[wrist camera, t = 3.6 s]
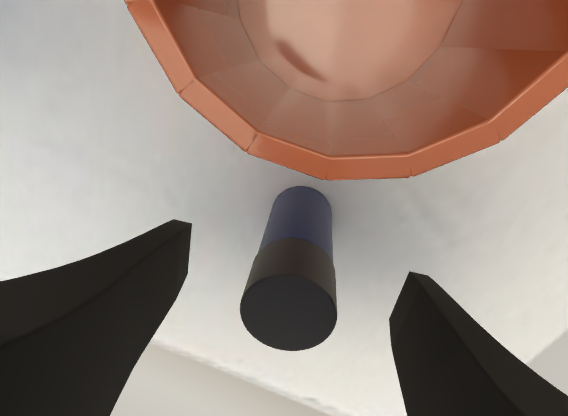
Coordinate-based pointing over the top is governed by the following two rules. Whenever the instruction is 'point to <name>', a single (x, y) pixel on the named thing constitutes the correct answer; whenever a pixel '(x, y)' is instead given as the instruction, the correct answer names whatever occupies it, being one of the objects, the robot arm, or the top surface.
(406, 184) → the top surface
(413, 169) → the pen pot
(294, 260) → the glue stick
